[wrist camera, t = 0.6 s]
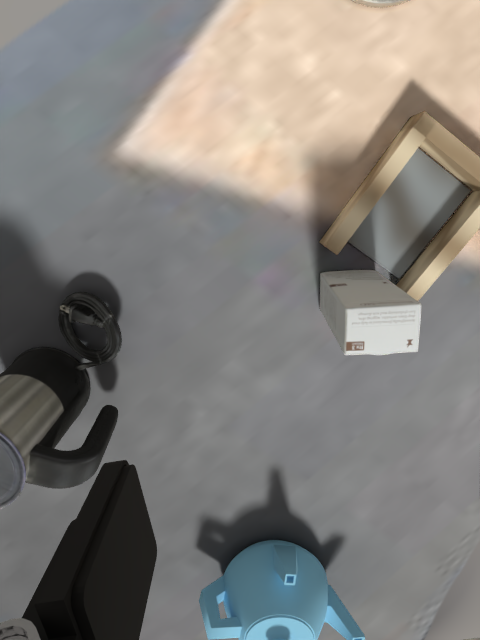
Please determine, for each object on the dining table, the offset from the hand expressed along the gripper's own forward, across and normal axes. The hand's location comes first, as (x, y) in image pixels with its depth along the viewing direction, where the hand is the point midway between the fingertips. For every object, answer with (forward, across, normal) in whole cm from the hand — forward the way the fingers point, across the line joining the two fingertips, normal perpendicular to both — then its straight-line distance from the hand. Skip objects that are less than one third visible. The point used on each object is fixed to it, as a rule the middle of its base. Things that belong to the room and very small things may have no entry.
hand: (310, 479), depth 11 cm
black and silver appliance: (+34, +22, +6) cm, 41 cm away
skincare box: (+33, -10, +4) cm, 34 cm away
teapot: (+34, +3, +42) cm, 54 cm away
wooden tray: (+32, -16, -3) cm, 36 cm away
